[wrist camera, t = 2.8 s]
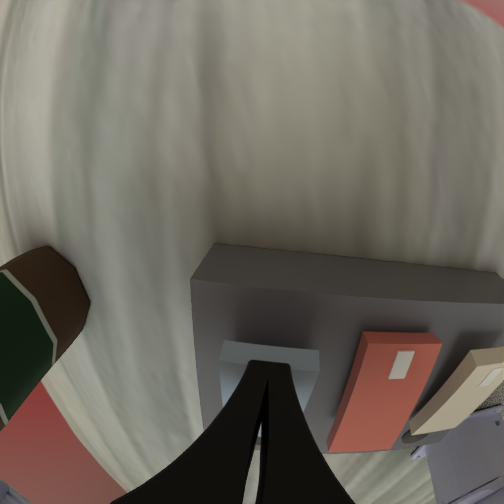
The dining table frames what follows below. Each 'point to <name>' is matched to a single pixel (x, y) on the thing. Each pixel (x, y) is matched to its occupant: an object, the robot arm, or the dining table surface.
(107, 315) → the dining table surface
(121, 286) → the dining table surface
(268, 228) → the dining table surface
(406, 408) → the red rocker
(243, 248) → the rocker switch panel
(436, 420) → the block
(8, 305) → the beer bottle
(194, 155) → the dining table surface
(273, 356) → the slate rocker
